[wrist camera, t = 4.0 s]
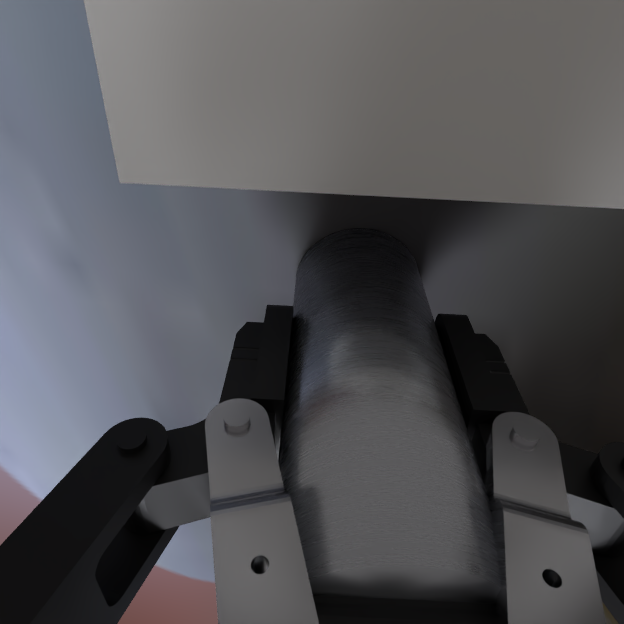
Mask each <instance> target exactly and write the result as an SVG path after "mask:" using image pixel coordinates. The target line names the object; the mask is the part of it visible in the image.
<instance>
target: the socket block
mask: <svg viewBox="0 0 624 624" xmlns="http://www.w3.org/2000/svg"><path fill="white" fill-rule="evenodd" d="M84 4H85V9H86V14H87V19H88V24H89V29H90V34H91V39H92V44H93V49H94V55H95V60H96V65H97V70H98V75H99V80H100V85H101V90H102V95H103V100H104V105H105V110H106V116H107V121H108V126H109V131H110V136H111V141H112V146H113V151H114V156H115V161H116V166H117V171H118V177H119V182H120V183H132V184H151V185H171V186H190V187H209V188H229V189H248V190H267V191H287V192H306V193H326V194H345V195H364V196H384V197H403V198H423V199H442V200H461V201H481V202H500V203H519V204H539V205H558V206H578V207H597V208H616V209H624V0H84Z"/></svg>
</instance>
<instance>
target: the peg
mask: <svg viewBox="0 0 624 624" xmlns="http://www.w3.org/2000/svg"><path fill="white" fill-rule="evenodd" d="M293 307H294V313H293V327H292V338H291V348H290V359H289V370H288V380H287V391H286V401H285V412H284V422H283V425H282V428H281V436H280V446H279V457H278V463H279V468H280V472H281V477H282V481H283V486H284V489H285V490H287V491H288V492H289V495H290V498H291V502H292V506H293V510H294V515H295V519H296V524H297V528H298V533H299V537H300V541H301V546H302V550H303V555H304V559H305V564H306V568H307V572H308V577H309V581H310V586H311V590H312V594H313V595H324V596H346V597H367V598H389V599H411V600H432V601H454V602H475V603H496V597H497V595H498V593H499V591H500V590H501V583H500V573H499V564H498V556H497V548H496V540H495V533H494V526H493V520H492V515H491V509H490V504H489V500H488V496H487V492H486V489H485V486H484V483H483V479H482V476H481V473H480V470H479V466H478V463H477V460H476V456H475V453H474V450H473V447H472V443H471V440H470V437H469V434H468V430H467V427H466V424H465V421H464V417H463V414H462V411H461V407H460V404H459V401H458V398H457V394H456V391H455V388H454V385H453V381H452V378H451V375H450V372H449V368H448V365H447V362H446V358H445V355H444V352H443V349H442V345H441V342H440V339H439V336H438V332H437V329H436V326H435V323H434V319H433V316H432V313H431V309H430V306H429V303H428V300H427V296H426V293H425V290H424V287H423V283H422V280H421V277H420V274H419V270H418V267H417V264H416V261H415V259H414V257H413V256H412V254H411V253H410V251H409V250H408V249H407V248H406V247H405V246H404V245H403V244H402V243H401V242H400V241H398V240H397V239H396V238H394V237H392V236H390V235H388V234H386V233H383V232H380V231H376V230H372V229H348V230H343V231H339V232H336V233H334V234H331V235H329V236H327V237H325V238H323V239H322V240H320V241H319V242H317V243H316V244H315V245H314V246H313V247H311V248H310V249H309V251H308V252H307V253H306V254H305V256H304V257H303V259H302V260H301V263H300V265H299V267H298V271H297V274H296V283H295V294H294V304H293Z"/></svg>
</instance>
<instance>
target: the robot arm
mask: <svg viewBox="0 0 624 624" xmlns="http://www.w3.org/2000/svg"><path fill="white" fill-rule="evenodd" d="M293 313H294V307H293V306H282V305H267V308H266V314H265V320H264V323H259V322H247V323H246V324H245V325H244V326H243V327H242V328H241V329H240V330H239V331H238V332H237V334H236V338H235V342H234V346H233V350H232V354H231V360H230V362H229V366H228V370H227V374H226V378H225V382H224V386H223V390H222V394H221V398H220V402H219V404H218V405H217V406H215V407H214V408H213V409H212V410H211V411H210V412H209V414H208V416H207V418H206V419H204V420H203V421H201V422H199V423H197V424H194V425H191V426H187V427H183V428H178V429H173V430H169V431H166V430H165V428H164V427H163V426H162V424H160V423H159V422H157V421H155V420H153V419H149V418H133V419H129V420H125V421H123V422H120V423H118V424H117V425H115V426H113V427H112V428H110V429H109V430H108V431H107V432H106V433H105V434H104V435H103V436H102V437H101V438H100V439H99V440H98V441H97V443H96V444H95V445H94V446H93V447H92V448H91V449H90V450H89V451H88V452H87V453H86V454H85V455H84V456H83V458H82V459H81V460H80V461H79V462H78V463H77V464H76V465H75V466H74V467H73V468H72V469H71V470H70V471H69V473H68V474H67V475H66V476H65V477H64V478H63V479H62V480H61V481H60V482H59V483H58V484H57V485H56V486H55V488H54V489H53V490H52V491H51V492H50V493H49V494H48V495H47V496H46V497H45V498H44V499H43V500H42V501H41V503H40V504H39V505H38V506H37V507H36V508H35V509H34V510H33V511H32V512H31V513H30V514H29V515H28V516H27V518H26V519H25V520H24V521H23V522H22V523H21V524H20V525H19V526H18V527H17V528H16V529H15V530H14V531H13V533H12V534H11V535H10V536H9V537H8V538H7V539H6V540H5V541H4V542H3V543H2V544H1V546H0V624H117V623H118V622H119V620H120V618H121V617H122V615H123V614H124V612H125V611H126V609H127V607H128V606H129V604H130V603H131V601H132V600H133V598H134V597H135V595H136V593H137V592H138V590H139V589H140V587H141V586H142V584H143V582H144V581H145V579H146V578H147V576H148V575H149V573H150V571H151V570H152V568H153V567H154V565H155V564H156V562H157V560H158V559H159V557H160V556H161V554H162V553H163V551H164V549H165V548H166V546H167V545H168V543H169V542H170V540H171V538H172V537H173V535H174V534H175V532H176V531H177V529H178V527H179V525H183V524H186V523H190V522H194V521H197V520H201V519H205V518H208V517H211V530H212V543H213V557H214V571H215V584H216V597H217V612H218V624H606V620H605V614H604V609H603V604H602V602H603V603H604V605H605V606H606V607H607V609H608V610H609V611H610V613H611V614H612V616H613V617H614V618H615V620H616V621H617V622H618V624H624V443H622V442H614V443H609V444H607V445H605V446H604V447H603V448H602V449H601V451H600V452H599V454H595V453H592V452H588V451H585V450H582V449H578V448H575V447H572V446H569V445H566V444H563V443H561V442H558V441H557V438H556V436H555V434H554V433H553V431H552V430H551V429H550V428H549V427H548V426H547V425H546V424H544V423H543V422H542V421H540V420H539V419H537V418H535V417H533V416H530V415H529V413H528V410H527V408H526V406H525V404H524V402H523V400H522V397H521V395H520V393H519V391H518V389H517V386H516V384H515V382H514V380H513V378H512V376H511V375H510V371H509V369H508V367H507V365H506V363H504V361H505V360H504V358H503V356H502V354H501V352H500V350H499V347H498V346H497V345H496V344H495V343H494V342H493V341H492V340H491V339H490V338H489V337H487V336H486V335H485V334H475V333H474V330H473V328H472V326H471V323H470V321H469V318H468V317H467V316H466V315H455V314H438V315H437V317H436V320H435V326H436V329H437V332H438V336H439V339H440V342H441V345H442V349H443V352H444V355H445V358H446V362H447V365H448V368H449V372H450V375H451V378H452V381H453V385H454V388H455V391H456V394H457V398H458V401H459V404H460V407H461V411H462V414H463V417H464V421H465V424H466V427H467V430H468V434H469V437H470V440H471V443H472V447H473V450H474V453H475V456H476V460H477V463H478V466H479V470H480V473H481V476H482V479H483V483H484V486H485V489H486V492H487V496H488V500H489V504H490V509H491V515H492V520H493V526H494V533H495V540H496V548H497V556H498V564H499V573H500V583H501V590H500V591H499V593H498V595H497V597H496V603H475V602H454V601H432V600H411V599H389V598H367V597H346V596H324V595H313V594H312V590H311V586H310V581H309V577H308V572H307V568H306V564H305V559H304V555H303V550H302V546H301V541H300V537H299V533H298V528H297V524H296V519H295V515H294V510H293V506H292V502H291V498H290V495H289V492H288V491H287V490H285V489H284V486H283V481H282V477H281V472H280V468H279V463H278V457H279V446H280V436H281V428H282V425H283V422H284V412H285V401H286V391H287V380H288V370H289V359H290V348H291V338H292V327H293Z"/></svg>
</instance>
